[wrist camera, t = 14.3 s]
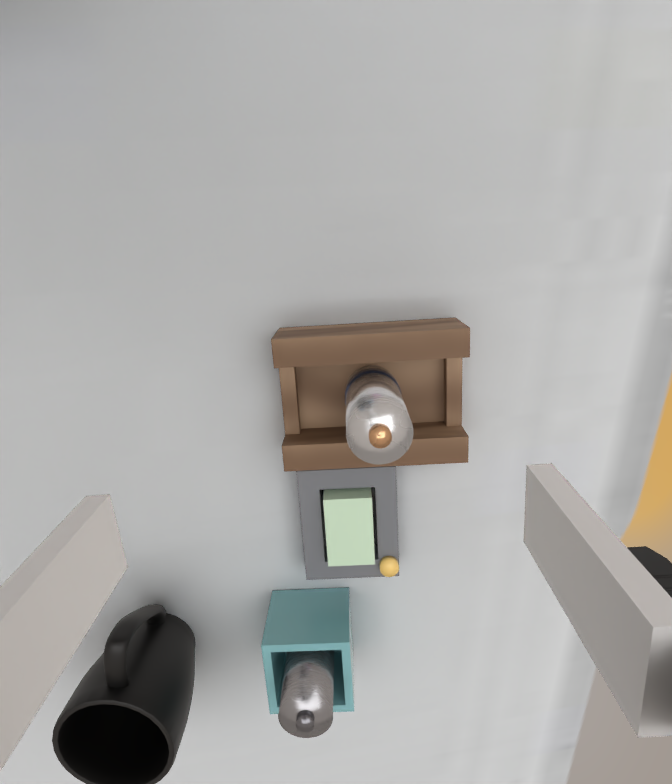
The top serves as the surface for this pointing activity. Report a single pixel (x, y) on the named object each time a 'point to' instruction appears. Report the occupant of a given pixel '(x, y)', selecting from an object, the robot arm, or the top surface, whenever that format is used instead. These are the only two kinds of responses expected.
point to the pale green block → (349, 526)
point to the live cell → (376, 416)
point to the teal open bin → (309, 638)
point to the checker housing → (314, 520)
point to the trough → (362, 348)
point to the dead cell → (307, 693)
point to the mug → (130, 703)
